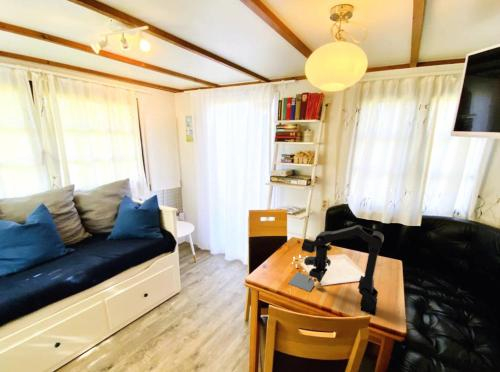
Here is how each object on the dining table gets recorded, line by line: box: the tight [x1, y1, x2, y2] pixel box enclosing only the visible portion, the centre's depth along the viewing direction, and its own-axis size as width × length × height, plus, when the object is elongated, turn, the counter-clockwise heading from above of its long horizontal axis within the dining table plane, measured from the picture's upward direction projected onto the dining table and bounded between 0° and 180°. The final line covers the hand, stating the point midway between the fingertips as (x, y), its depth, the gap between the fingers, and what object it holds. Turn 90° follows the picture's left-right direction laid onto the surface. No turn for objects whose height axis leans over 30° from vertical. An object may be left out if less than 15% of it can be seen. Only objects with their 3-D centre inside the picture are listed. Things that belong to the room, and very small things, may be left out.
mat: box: [287, 271, 318, 293], centre depth 136 cm, size 13×14×1 cm
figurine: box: [308, 276, 322, 289], centre depth 134 cm, size 8×6×12 cm
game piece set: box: [291, 254, 315, 272], centre depth 156 cm, size 19×20×4 cm
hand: (319, 281), depth 127 cm, fingers closed
